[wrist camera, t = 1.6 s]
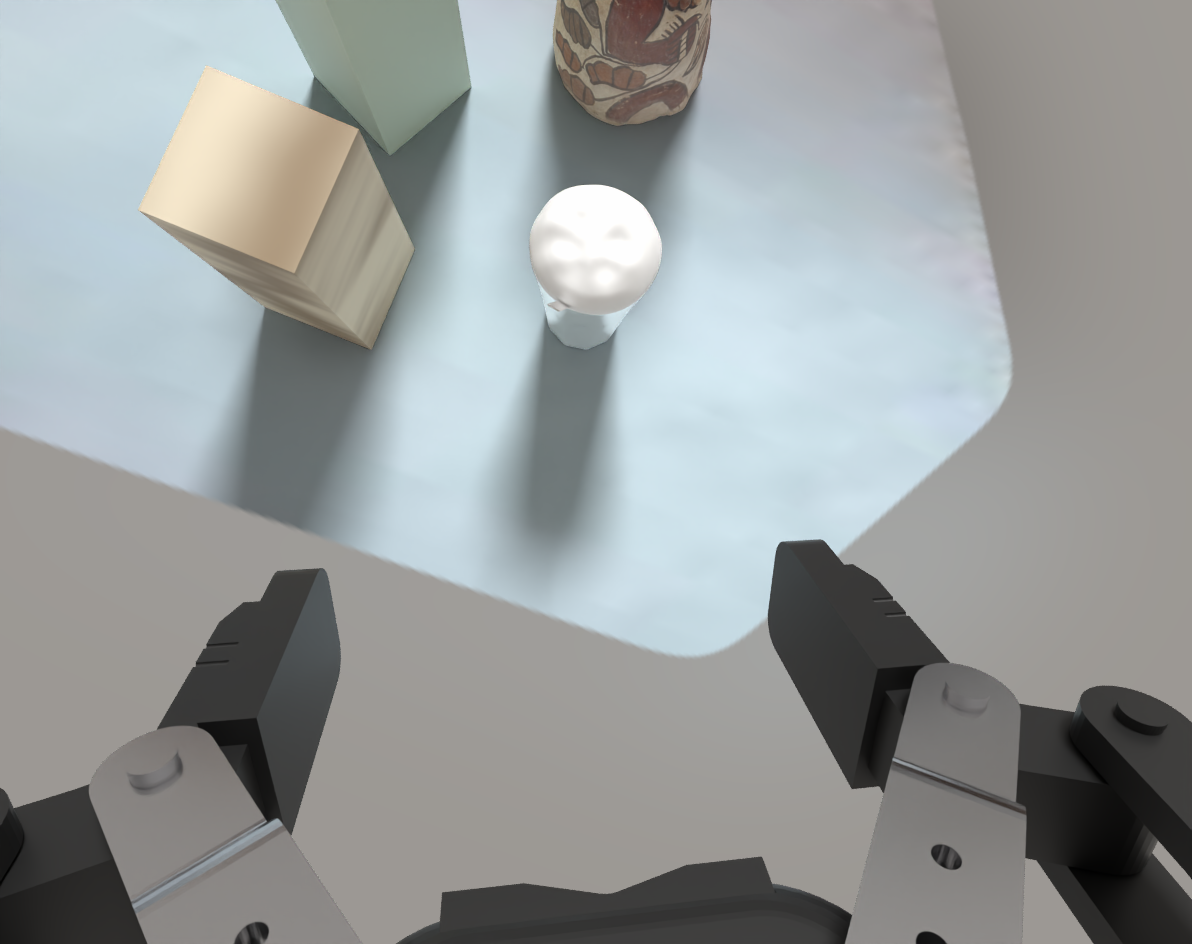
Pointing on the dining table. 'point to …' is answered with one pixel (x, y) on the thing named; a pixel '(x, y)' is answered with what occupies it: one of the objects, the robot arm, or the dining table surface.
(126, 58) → the dining table surface
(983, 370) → the dining table surface
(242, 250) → the beech block
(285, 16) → the sage block
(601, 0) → the figurine
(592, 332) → the milkshake
